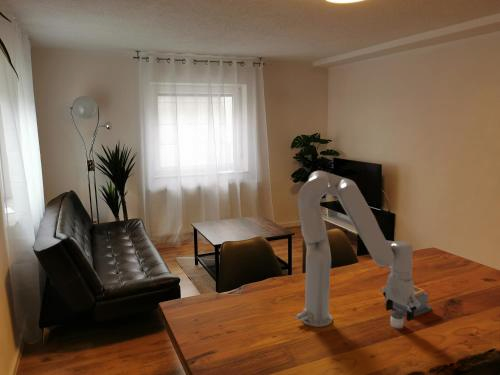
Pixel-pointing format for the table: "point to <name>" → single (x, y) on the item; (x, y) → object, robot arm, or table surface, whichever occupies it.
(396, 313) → the gray and white capsule
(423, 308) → the grey square peg holder
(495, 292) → the table surface
